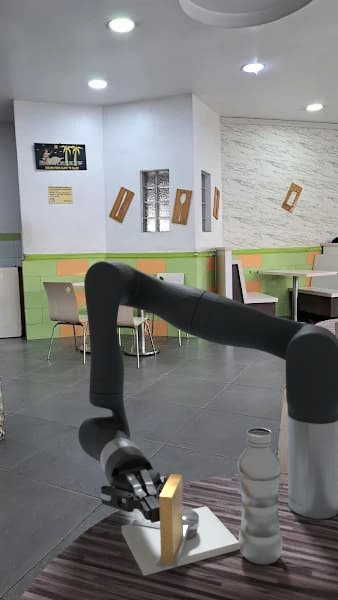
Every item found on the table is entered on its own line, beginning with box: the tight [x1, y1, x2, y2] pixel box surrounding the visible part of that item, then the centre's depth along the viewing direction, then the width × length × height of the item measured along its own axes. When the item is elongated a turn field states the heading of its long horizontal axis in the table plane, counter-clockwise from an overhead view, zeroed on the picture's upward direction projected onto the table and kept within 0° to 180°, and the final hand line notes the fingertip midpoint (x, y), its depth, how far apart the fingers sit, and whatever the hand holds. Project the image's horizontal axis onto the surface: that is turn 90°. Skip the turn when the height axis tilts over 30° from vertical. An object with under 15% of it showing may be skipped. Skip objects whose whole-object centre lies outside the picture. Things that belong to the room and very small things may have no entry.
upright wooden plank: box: [159, 473, 199, 568], centre depth 74 cm, size 14×5×11 cm, turn 167°
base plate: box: [121, 505, 240, 577], centre depth 78 cm, size 16×14×2 cm
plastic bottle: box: [236, 427, 284, 566], centre depth 73 cm, size 6×7×20 cm
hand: (157, 515), depth 68 cm, fingers closed
